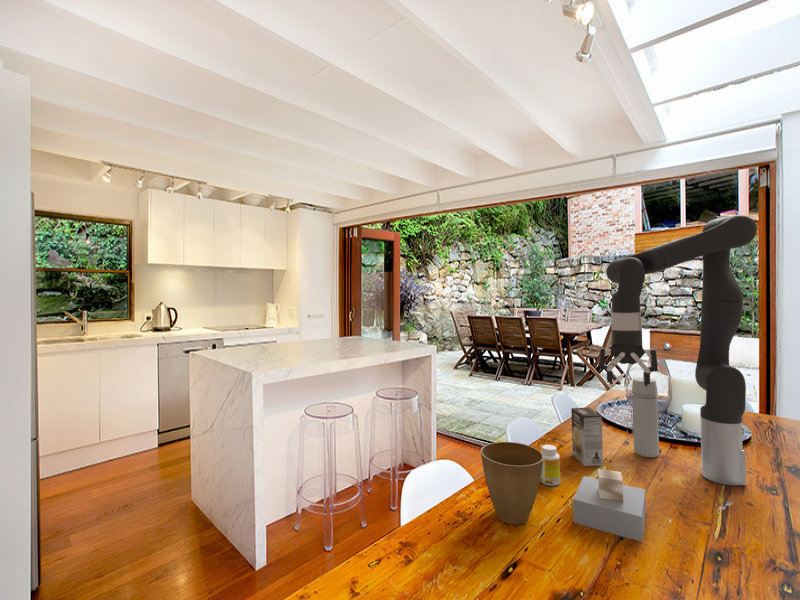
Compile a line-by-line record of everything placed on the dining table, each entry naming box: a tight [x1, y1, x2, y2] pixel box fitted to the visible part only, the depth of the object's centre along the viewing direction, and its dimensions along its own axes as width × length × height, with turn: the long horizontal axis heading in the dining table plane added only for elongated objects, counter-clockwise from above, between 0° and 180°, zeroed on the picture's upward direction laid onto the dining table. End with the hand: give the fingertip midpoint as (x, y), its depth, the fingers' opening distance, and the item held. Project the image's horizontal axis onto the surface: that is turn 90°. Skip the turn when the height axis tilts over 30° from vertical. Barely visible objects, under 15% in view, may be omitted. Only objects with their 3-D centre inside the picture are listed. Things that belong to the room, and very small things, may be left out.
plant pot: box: [480, 441, 544, 526], centre depth 96 cm, size 15×15×16 cm
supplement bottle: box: [540, 444, 561, 487], centre depth 113 cm, size 6×6×10 cm
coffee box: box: [570, 407, 604, 467], centre depth 126 cm, size 9×6×16 cm
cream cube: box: [597, 468, 624, 502], centre depth 94 cm, size 5×5×5 cm
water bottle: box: [626, 377, 660, 459], centre depth 130 cm, size 9×8×25 cm
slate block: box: [572, 475, 647, 543], centre depth 94 cm, size 14×14×6 cm
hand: (627, 384), depth 111 cm, fingers open, 8 cm apart
